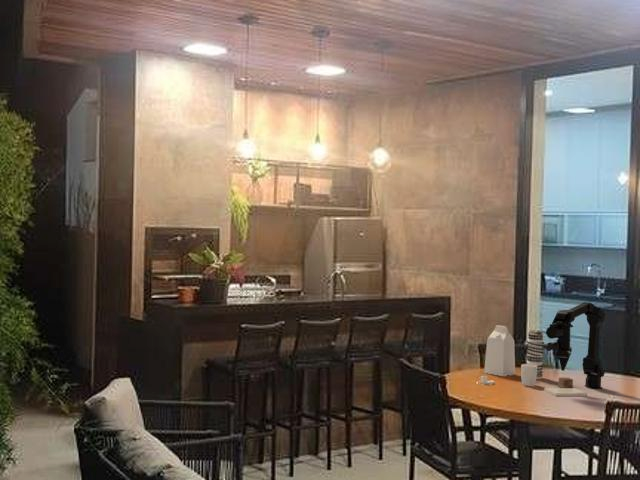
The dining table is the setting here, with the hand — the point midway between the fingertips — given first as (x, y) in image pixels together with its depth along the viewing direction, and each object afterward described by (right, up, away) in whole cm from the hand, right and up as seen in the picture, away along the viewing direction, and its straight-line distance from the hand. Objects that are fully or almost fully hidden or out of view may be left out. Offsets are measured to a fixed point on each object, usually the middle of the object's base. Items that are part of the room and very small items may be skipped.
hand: (563, 368), depth 382 cm
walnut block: (+4, -12, +10) cm, 16 cm away
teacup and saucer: (-34, -11, +13) cm, 38 cm away
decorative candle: (-4, -11, +37) cm, 39 cm away
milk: (-21, -10, +46) cm, 51 cm away
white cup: (-13, -11, +16) cm, 23 cm away
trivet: (0, -11, -2) cm, 12 cm away
